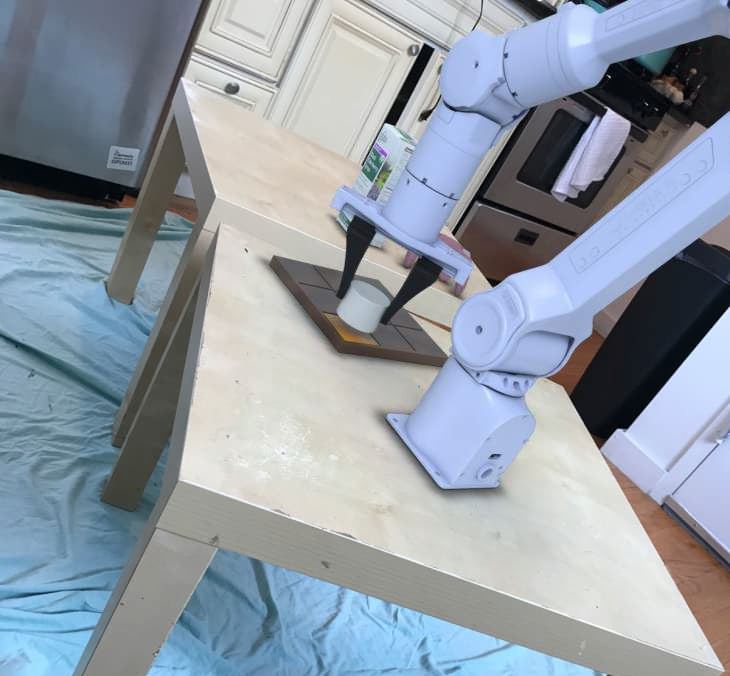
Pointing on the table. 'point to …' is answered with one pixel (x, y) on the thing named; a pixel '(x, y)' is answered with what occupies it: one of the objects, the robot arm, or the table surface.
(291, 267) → the board
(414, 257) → the video game controller
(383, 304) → the white squat cylinder
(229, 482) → the table surface
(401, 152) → the syrup box
